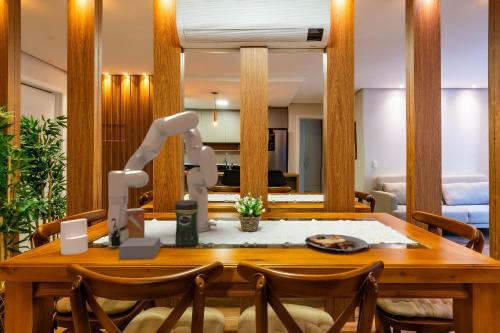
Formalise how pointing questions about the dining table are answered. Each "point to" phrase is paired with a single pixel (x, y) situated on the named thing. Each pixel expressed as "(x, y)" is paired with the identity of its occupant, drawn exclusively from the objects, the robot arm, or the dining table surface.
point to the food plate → (336, 242)
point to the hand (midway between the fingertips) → (119, 243)
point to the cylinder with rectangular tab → (74, 237)
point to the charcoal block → (139, 248)
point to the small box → (136, 223)
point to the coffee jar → (186, 223)
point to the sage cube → (123, 236)
